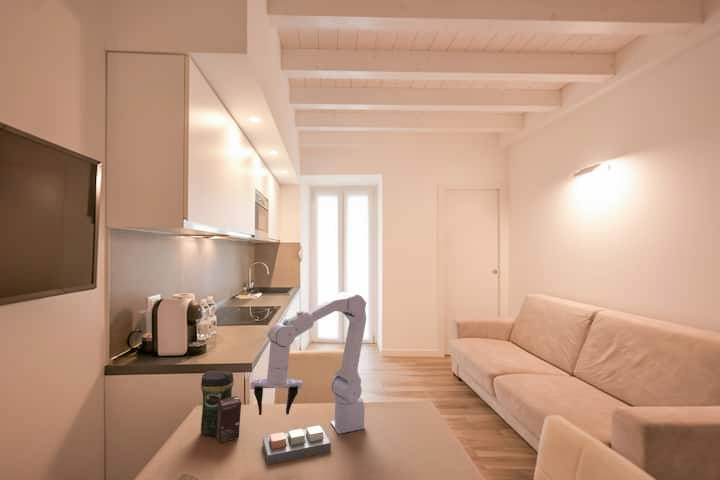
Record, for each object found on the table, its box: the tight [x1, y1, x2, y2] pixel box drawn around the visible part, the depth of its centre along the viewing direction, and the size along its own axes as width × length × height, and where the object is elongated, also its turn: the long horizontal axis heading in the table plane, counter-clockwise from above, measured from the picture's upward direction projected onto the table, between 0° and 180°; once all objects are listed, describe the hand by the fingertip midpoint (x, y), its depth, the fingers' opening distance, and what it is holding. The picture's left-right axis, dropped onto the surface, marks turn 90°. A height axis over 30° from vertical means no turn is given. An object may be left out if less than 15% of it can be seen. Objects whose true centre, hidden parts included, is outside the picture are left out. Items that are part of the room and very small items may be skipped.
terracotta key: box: [269, 431, 286, 449], centre depth 107 cm, size 4×4×3 cm
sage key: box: [288, 428, 305, 446], centre depth 109 cm, size 4×4×3 cm
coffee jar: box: [200, 370, 235, 436], centre depth 119 cm, size 10×8×19 cm
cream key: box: [306, 425, 323, 442], centre depth 111 cm, size 4×4×3 cm
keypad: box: [262, 426, 332, 465], centre depth 109 cm, size 18×10×2 cm, turn 112°
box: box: [216, 395, 242, 444], centre depth 113 cm, size 6×4×12 cm
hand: (273, 413), depth 107 cm, fingers open, 7 cm apart
